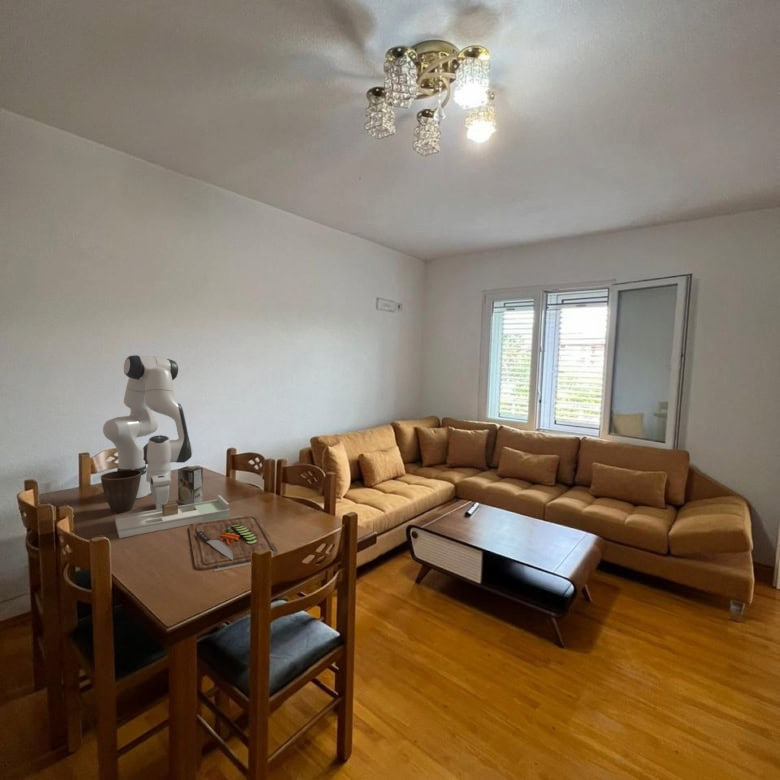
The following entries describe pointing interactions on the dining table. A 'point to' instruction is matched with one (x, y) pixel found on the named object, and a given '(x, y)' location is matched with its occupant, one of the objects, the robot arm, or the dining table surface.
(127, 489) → the plant pot
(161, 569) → the dining table surface
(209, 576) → the dining table surface
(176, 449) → the robot arm
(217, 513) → the tray
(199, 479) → the coffee box
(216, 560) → the chopping board
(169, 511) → the block
